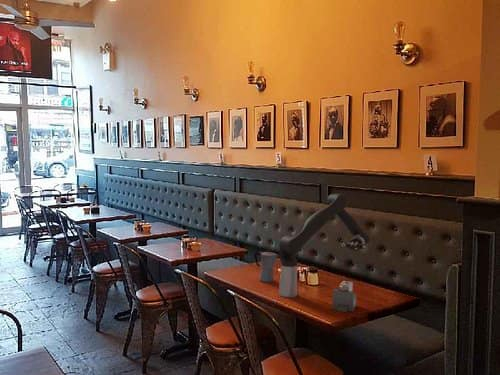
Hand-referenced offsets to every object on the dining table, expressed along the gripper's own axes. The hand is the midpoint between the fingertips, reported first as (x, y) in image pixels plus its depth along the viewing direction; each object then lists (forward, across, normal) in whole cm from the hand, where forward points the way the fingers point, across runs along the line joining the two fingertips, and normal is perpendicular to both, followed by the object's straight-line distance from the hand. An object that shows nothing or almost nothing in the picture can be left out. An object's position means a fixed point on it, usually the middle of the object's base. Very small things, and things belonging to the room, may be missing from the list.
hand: (351, 247), depth 260 cm
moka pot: (-14, -55, +29) cm, 64 cm away
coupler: (+19, +1, +29) cm, 34 cm away
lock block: (+15, 0, +29) cm, 32 cm away
